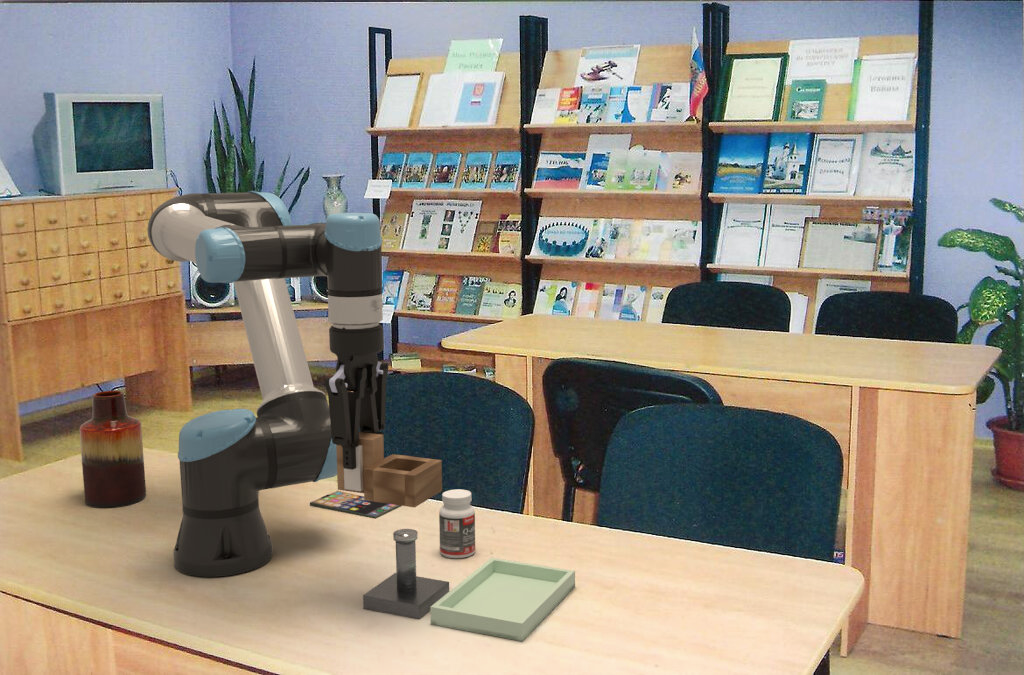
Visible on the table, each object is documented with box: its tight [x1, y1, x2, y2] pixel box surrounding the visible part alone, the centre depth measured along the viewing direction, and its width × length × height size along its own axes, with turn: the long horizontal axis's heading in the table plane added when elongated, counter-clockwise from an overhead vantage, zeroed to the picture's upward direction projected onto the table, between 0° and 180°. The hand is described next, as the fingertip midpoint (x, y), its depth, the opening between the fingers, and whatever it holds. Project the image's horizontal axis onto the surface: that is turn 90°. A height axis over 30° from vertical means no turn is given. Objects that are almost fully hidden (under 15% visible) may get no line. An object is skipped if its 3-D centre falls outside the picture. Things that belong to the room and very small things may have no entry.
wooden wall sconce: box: [336, 431, 443, 508], centre depth 150 cm, size 14×8×8 cm, turn 66°
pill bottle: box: [438, 488, 476, 559], centre depth 170 cm, size 6×6×10 cm
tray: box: [430, 557, 576, 642], centre depth 151 cm, size 14×20×2 cm
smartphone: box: [309, 490, 402, 519], centre depth 195 cm, size 8×15×1 cm, turn 60°
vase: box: [79, 390, 147, 509], centre depth 198 cm, size 11×11×20 cm
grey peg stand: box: [362, 528, 450, 620], centre depth 151 cm, size 9×9×10 cm
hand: (361, 485), depth 153 cm, fingers closed on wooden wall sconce, 3 cm apart
